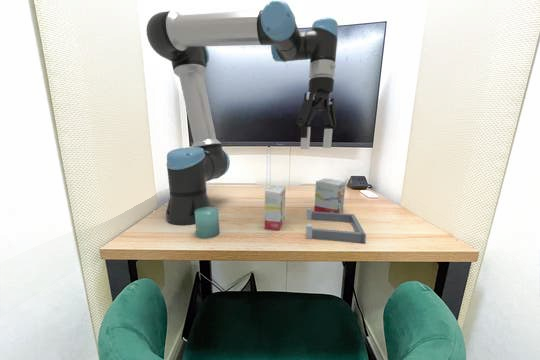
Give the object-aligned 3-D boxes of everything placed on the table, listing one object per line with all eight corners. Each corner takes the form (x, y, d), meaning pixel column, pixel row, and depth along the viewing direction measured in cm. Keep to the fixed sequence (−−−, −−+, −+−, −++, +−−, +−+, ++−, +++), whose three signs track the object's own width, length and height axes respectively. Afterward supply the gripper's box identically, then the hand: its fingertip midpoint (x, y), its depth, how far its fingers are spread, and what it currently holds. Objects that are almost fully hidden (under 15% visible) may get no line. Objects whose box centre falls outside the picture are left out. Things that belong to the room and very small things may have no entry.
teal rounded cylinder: (191, 237, 58) (190, 213, 57) (203, 227, 64) (201, 206, 63) (213, 239, 57) (212, 215, 56) (222, 229, 63) (221, 207, 62)
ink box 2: (335, 217, 74) (338, 184, 71) (313, 211, 79) (314, 180, 76) (343, 210, 80) (346, 180, 78) (322, 206, 85) (324, 177, 83)
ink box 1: (279, 231, 63) (280, 192, 60) (263, 229, 64) (263, 191, 61) (285, 220, 71) (286, 185, 68) (271, 218, 72) (271, 184, 70)
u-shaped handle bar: (305, 238, 58) (306, 226, 57) (306, 217, 73) (306, 207, 72) (365, 243, 55) (366, 231, 55) (353, 221, 70) (354, 210, 70)
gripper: (309, 66, 54) (304, 150, 58) (350, 84, 71) (344, 148, 76) (286, 71, 59) (283, 148, 63) (330, 87, 76) (325, 146, 81)
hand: (316, 148), depth 69 cm, fingers open, 13 cm apart
